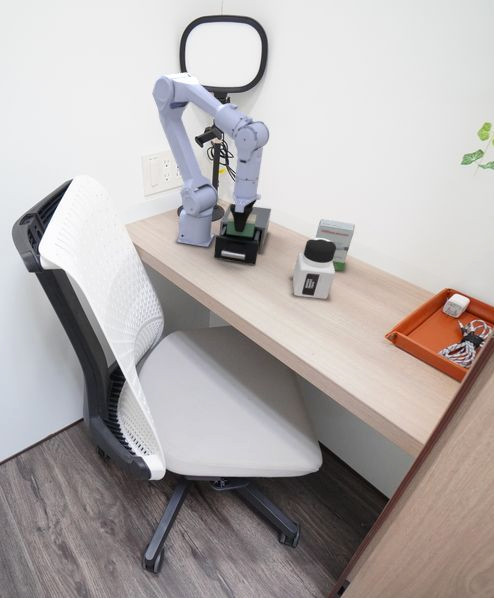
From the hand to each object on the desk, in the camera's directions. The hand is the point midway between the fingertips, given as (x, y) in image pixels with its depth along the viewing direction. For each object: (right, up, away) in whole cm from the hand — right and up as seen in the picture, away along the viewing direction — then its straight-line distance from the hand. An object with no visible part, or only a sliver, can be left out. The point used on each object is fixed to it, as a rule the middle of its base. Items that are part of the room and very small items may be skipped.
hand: (240, 227), depth 97 cm
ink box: (+24, -10, +2) cm, 26 cm away
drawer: (0, -7, +4) cm, 8 cm away
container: (+16, -17, -7) cm, 24 cm away
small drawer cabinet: (+3, -1, +13) cm, 13 cm away
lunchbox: (0, -1, +1) cm, 1 cm away
